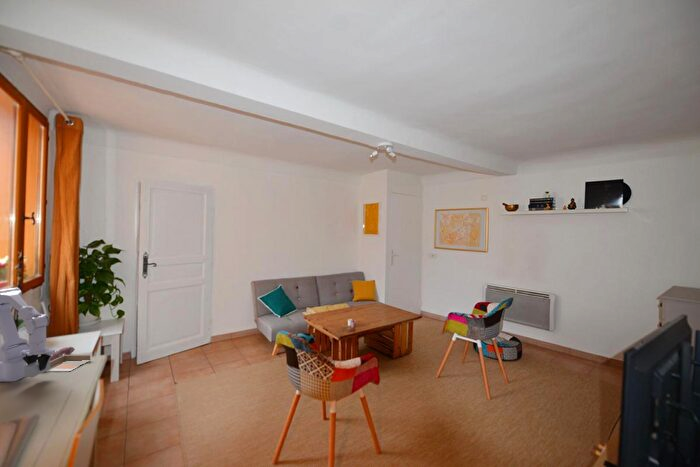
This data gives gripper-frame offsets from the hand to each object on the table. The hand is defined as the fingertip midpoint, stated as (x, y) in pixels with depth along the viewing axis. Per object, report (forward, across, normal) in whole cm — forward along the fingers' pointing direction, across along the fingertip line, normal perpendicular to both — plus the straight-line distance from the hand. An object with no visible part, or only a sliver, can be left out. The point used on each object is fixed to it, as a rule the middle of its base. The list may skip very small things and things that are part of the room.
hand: (37, 369), depth 142 cm
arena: (+6, -1, +16) cm, 17 cm away
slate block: (+2, 0, 0) cm, 2 cm away
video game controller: (+6, -13, +26) cm, 30 cm away
